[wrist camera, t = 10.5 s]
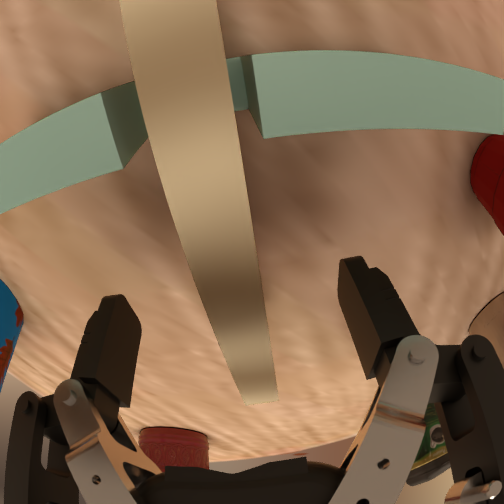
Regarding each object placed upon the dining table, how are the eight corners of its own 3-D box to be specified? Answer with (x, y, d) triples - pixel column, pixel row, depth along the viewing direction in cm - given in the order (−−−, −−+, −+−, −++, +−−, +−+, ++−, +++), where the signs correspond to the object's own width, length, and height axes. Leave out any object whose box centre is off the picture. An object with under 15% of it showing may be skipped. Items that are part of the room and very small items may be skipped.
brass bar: (170, 6, 9) (113, -42, 3) (213, -2, 9) (204, -67, 3) (236, 306, 22) (245, 405, 15) (263, 302, 22) (279, 400, 15)
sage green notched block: (392, 54, 11) (507, 81, 5) (393, 88, 12) (503, 135, 6) (32, 125, 11) (-63, 193, 5) (42, 154, 13) (-43, 235, 6)
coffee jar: (374, 405, 43) (398, 493, 29) (404, 384, 39) (435, 480, 25) (406, 401, 46) (430, 477, 32) (433, 380, 42) (463, 462, 27)
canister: (125, 426, 40) (121, 514, 26) (189, 423, 39) (193, 524, 25) (162, 444, 48) (162, 517, 34) (219, 441, 47) (225, 521, 33)
